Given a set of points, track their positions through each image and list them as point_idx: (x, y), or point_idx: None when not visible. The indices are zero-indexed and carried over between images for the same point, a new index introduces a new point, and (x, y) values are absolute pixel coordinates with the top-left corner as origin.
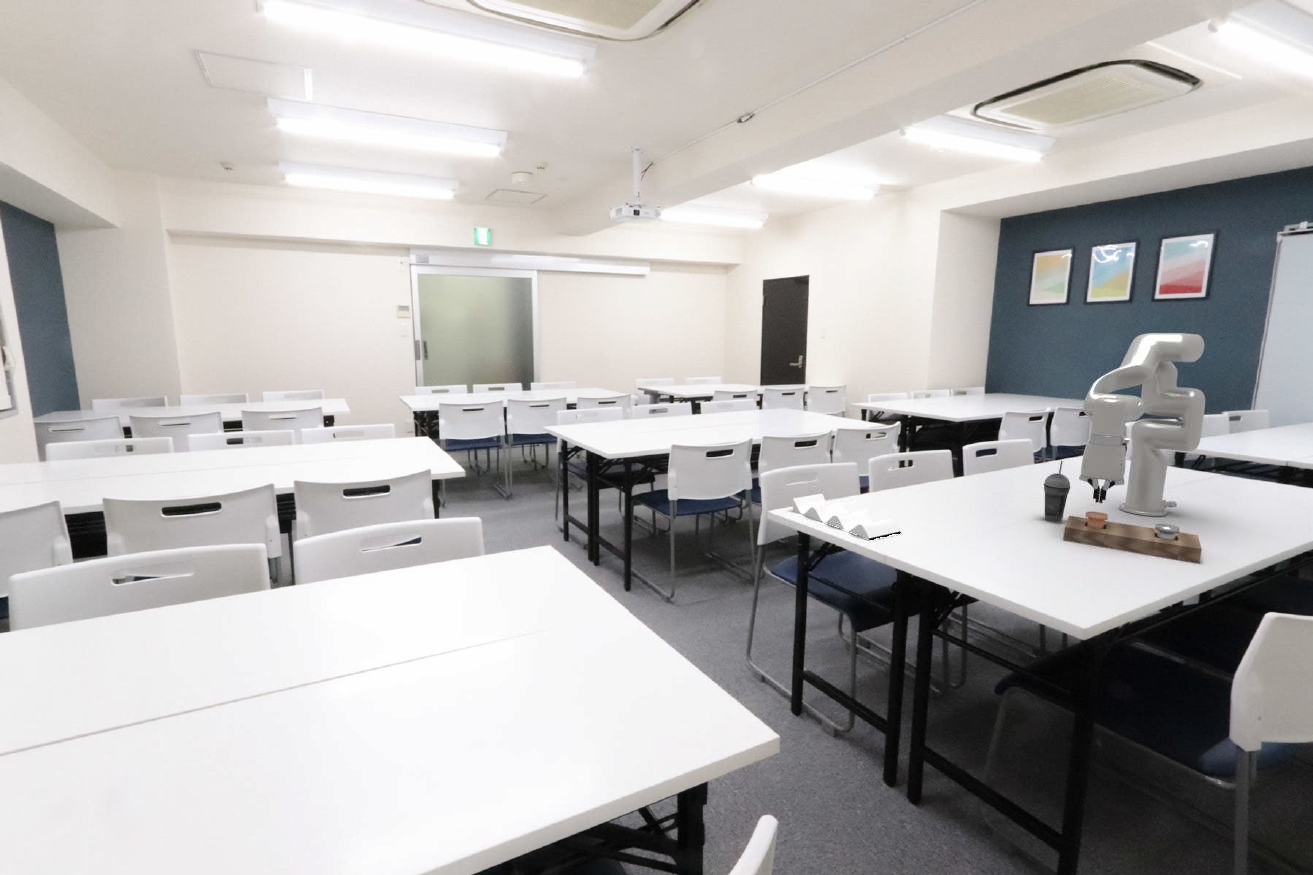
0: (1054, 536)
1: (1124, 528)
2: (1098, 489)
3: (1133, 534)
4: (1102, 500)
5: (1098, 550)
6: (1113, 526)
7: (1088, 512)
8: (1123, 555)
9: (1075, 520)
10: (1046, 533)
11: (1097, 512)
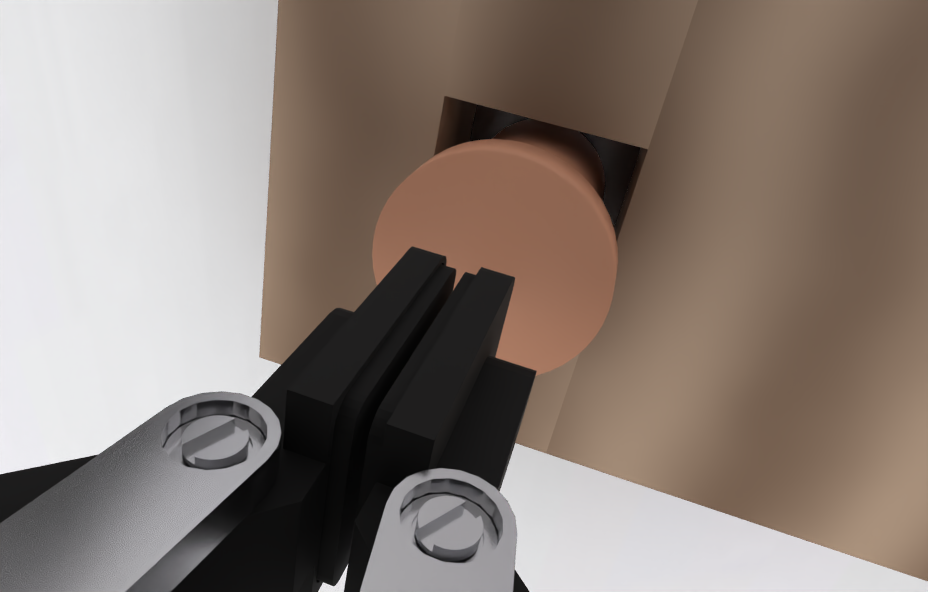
0: (261, 228)
1: (823, 224)
2: (302, 587)
3: (818, 424)
4: (502, 322)
5: (513, 459)
6: (715, 182)
7: (400, 228)
8: (651, 518)
9: (348, 76)
10: (207, 166)
11: (511, 186)
